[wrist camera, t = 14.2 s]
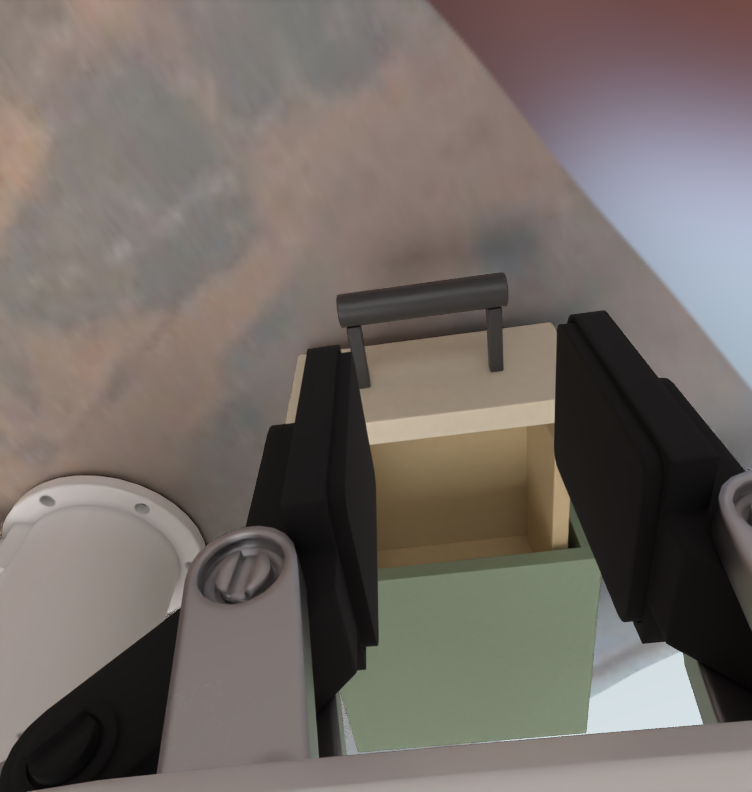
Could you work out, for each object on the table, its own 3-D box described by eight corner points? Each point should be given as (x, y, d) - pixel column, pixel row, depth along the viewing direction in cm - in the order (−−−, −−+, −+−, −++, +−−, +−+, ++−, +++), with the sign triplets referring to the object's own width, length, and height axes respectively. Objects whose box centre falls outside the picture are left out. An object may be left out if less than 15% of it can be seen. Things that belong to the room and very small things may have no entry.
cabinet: (320, 473, 36) (308, 588, 29) (555, 445, 35) (603, 557, 28) (359, 632, 45) (358, 752, 38) (550, 613, 44) (586, 733, 37)
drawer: (278, 272, 28) (256, 338, 23) (553, 233, 28) (601, 292, 22) (345, 549, 39) (341, 643, 33) (547, 528, 38) (579, 620, 32)
